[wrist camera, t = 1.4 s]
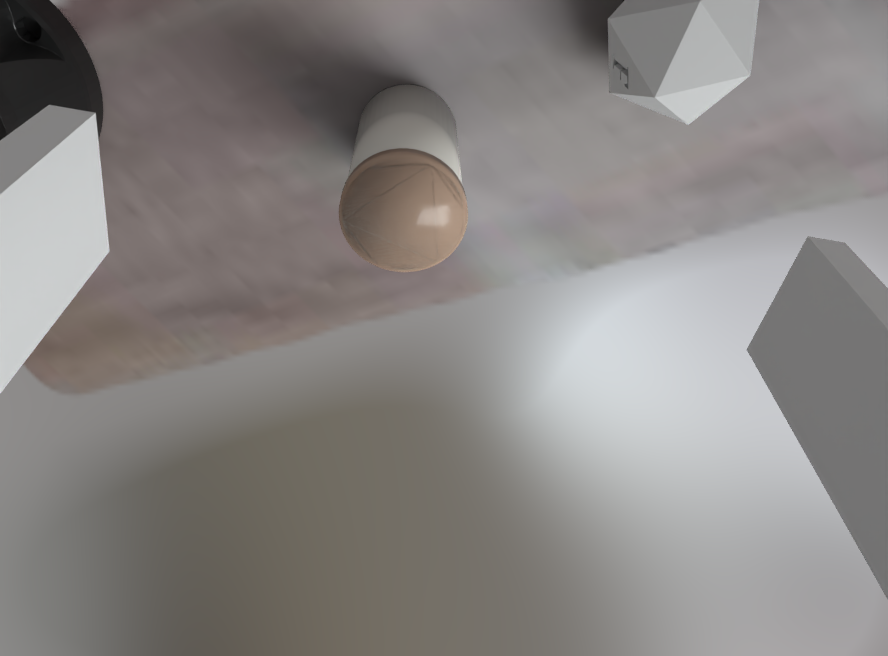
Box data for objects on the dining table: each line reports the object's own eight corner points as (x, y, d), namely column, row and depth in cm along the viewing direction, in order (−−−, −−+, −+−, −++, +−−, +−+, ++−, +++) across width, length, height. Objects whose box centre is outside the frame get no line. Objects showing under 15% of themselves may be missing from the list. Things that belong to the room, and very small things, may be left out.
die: (633, -84, 41) (574, 23, 37) (795, -77, 38) (748, 41, 34) (632, 39, 48) (582, 140, 44) (769, 54, 44) (728, 165, 41)
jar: (349, 171, 49) (331, 260, 39) (364, 72, 45) (348, 143, 36) (446, 189, 50) (452, 281, 40) (469, 94, 46) (481, 170, 36)
